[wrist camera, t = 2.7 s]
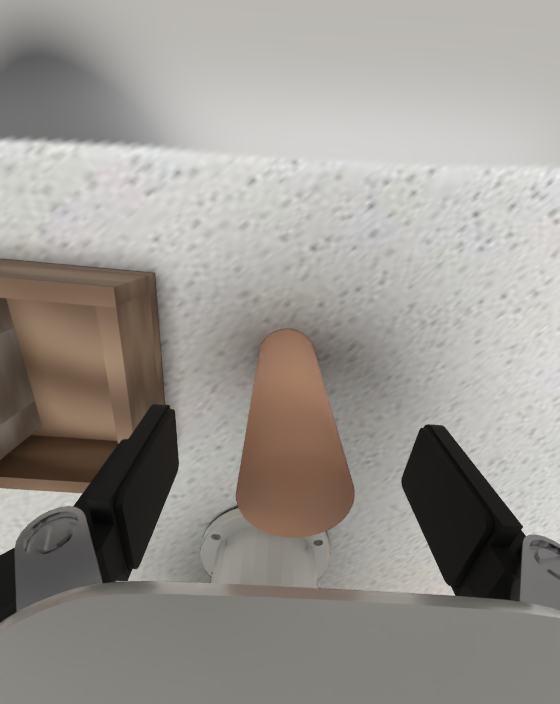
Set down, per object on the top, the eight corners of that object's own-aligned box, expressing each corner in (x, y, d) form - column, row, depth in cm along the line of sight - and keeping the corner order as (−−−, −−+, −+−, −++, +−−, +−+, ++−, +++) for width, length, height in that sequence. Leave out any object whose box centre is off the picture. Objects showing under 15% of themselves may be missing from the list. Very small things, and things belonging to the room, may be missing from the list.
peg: (310, 381, 22) (343, 540, 11) (257, 377, 22) (234, 534, 10) (318, 331, 20) (365, 456, 9) (260, 326, 20) (237, 447, 9)
